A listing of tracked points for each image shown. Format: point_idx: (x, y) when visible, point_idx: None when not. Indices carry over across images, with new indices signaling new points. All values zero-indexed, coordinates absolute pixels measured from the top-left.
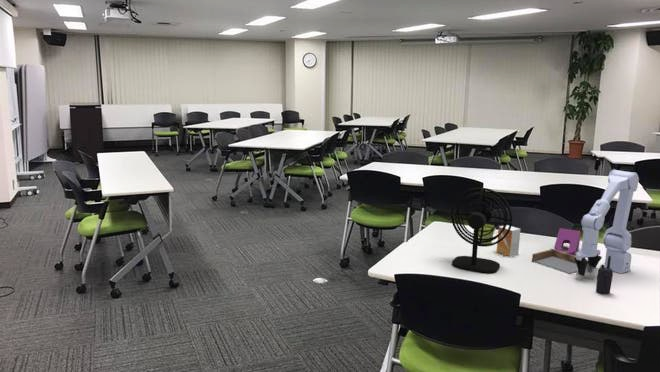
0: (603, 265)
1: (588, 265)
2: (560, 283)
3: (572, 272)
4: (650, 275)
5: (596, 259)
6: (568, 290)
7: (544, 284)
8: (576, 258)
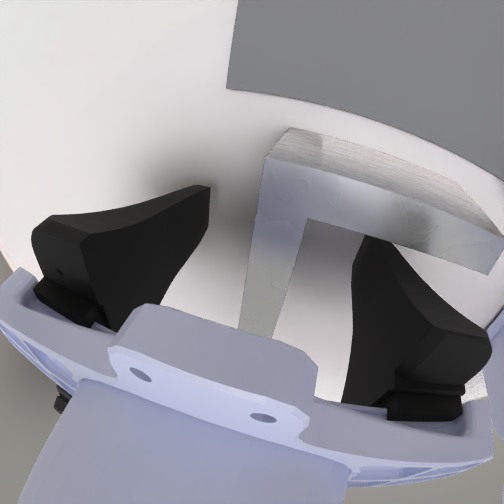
0: (58, 410)
1: (281, 288)
2: (51, 154)
3: (273, 94)
4: (479, 393)
5: (350, 394)
6: (40, 216)
7: (9, 123)
8: (14, 276)
